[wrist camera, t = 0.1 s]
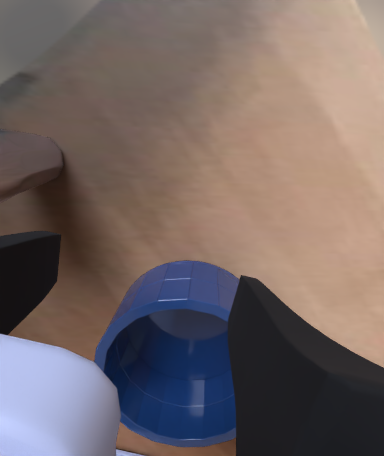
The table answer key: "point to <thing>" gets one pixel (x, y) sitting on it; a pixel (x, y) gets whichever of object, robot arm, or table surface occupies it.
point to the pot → (174, 355)
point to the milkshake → (26, 162)
